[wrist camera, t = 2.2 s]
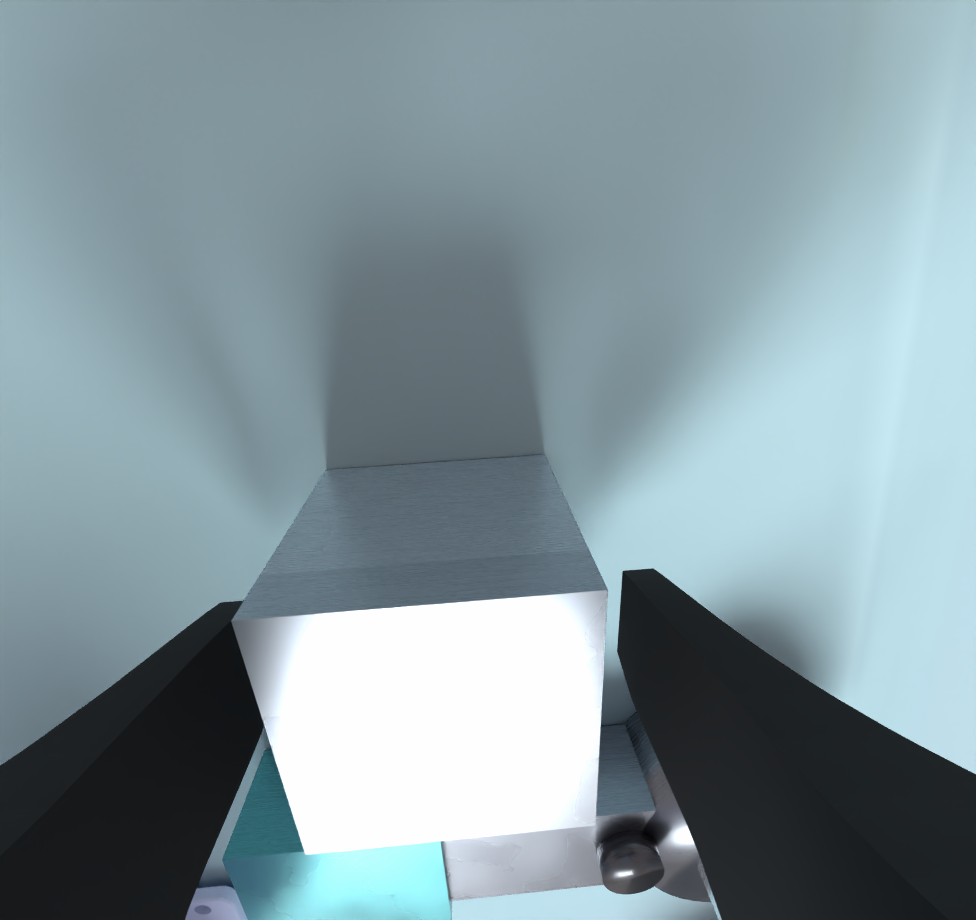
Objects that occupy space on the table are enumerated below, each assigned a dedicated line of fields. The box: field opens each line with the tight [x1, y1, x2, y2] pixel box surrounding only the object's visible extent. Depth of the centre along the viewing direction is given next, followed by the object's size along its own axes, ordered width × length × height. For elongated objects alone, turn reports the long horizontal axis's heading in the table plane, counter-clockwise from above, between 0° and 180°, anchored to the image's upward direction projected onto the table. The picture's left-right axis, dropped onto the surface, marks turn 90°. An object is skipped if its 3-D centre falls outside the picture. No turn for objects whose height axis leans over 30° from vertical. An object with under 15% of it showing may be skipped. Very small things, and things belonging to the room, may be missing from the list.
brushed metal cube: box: [231, 455, 608, 855], centre depth 10 cm, size 5×5×5 cm
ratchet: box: [222, 712, 722, 920], centre depth 13 cm, size 16×6×5 cm, turn 93°
